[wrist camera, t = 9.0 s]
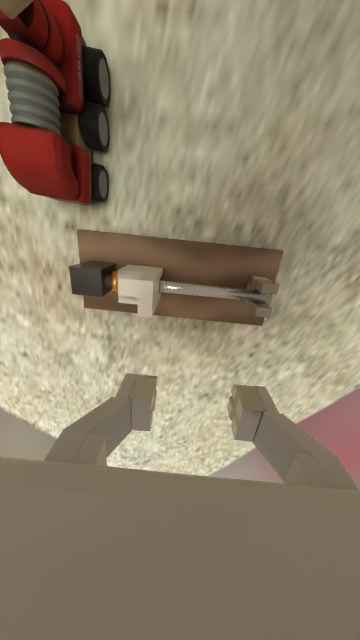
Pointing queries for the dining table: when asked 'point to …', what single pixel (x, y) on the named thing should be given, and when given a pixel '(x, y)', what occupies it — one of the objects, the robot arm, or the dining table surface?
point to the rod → (104, 278)
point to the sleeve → (140, 288)
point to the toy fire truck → (53, 102)
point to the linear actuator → (187, 274)
